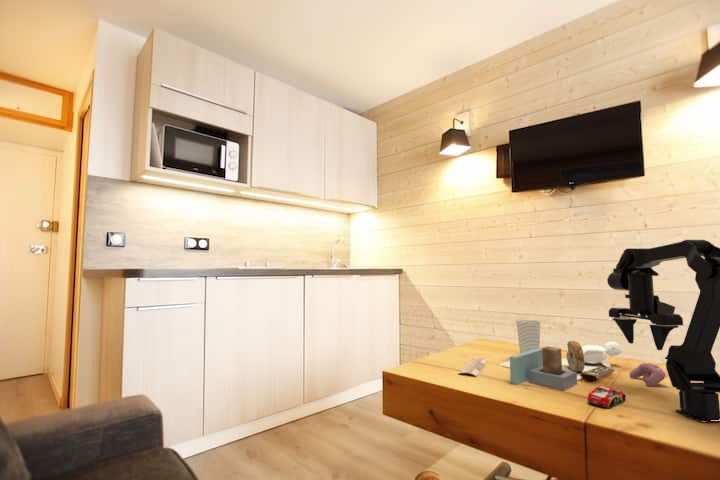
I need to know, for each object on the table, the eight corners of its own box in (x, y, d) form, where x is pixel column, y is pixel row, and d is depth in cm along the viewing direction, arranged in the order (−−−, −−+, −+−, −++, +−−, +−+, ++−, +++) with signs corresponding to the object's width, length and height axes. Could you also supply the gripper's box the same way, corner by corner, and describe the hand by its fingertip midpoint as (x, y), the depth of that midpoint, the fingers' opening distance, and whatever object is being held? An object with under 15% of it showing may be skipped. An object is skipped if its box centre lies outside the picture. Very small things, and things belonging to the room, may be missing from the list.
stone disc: (587, 375, 118) (585, 344, 119) (574, 374, 119) (573, 344, 120) (578, 367, 128) (576, 339, 129) (566, 366, 129) (565, 338, 130)
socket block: (577, 385, 108) (576, 372, 109) (564, 392, 102) (563, 378, 102) (543, 378, 116) (543, 365, 116) (529, 384, 110) (528, 370, 110)
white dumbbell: (585, 374, 129) (630, 362, 125) (574, 351, 131) (618, 339, 126) (580, 368, 137) (622, 357, 133) (570, 347, 139) (611, 335, 134)
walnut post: (562, 381, 109) (561, 348, 110) (557, 384, 106) (555, 350, 107) (548, 378, 112) (547, 346, 113) (543, 381, 109) (542, 348, 110)
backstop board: (545, 372, 120) (544, 348, 121) (516, 384, 108) (515, 357, 108) (539, 371, 122) (538, 347, 123) (510, 383, 109) (509, 356, 110)
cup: (528, 366, 129) (526, 322, 131) (512, 360, 137) (511, 319, 139) (547, 364, 131) (545, 322, 133) (530, 359, 140) (529, 319, 141)
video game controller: (661, 393, 105) (671, 372, 105) (645, 385, 106) (655, 364, 106) (641, 383, 115) (651, 363, 115) (627, 375, 116) (636, 356, 116)
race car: (606, 395, 100) (605, 380, 100) (629, 401, 95) (628, 385, 95) (583, 404, 92) (582, 388, 93) (607, 411, 88) (606, 394, 88)
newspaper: (472, 361, 139) (472, 356, 139) (491, 363, 135) (491, 358, 135) (458, 376, 118) (458, 371, 118) (480, 380, 115) (480, 374, 115)
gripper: (699, 293, 94) (704, 353, 92) (638, 289, 112) (642, 339, 111) (661, 293, 93) (665, 354, 91) (605, 289, 111) (609, 340, 110)
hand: (644, 346), depth 101 cm, fingers open, 9 cm apart
